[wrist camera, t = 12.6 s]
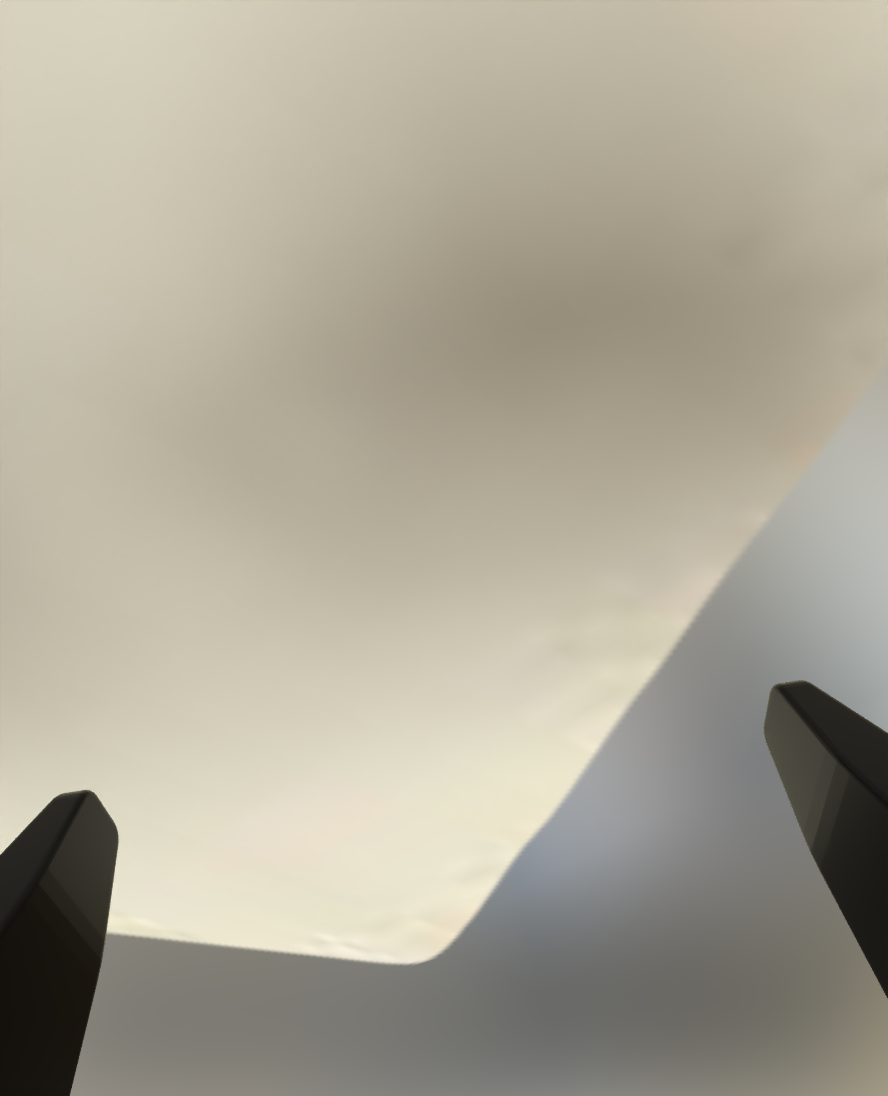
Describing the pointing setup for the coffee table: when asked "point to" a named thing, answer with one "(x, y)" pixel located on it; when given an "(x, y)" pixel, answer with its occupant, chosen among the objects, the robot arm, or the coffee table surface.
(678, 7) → the coffee table surface
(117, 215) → the coffee table surface
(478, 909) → the coffee table surface
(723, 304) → the coffee table surface
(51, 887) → the robot arm
